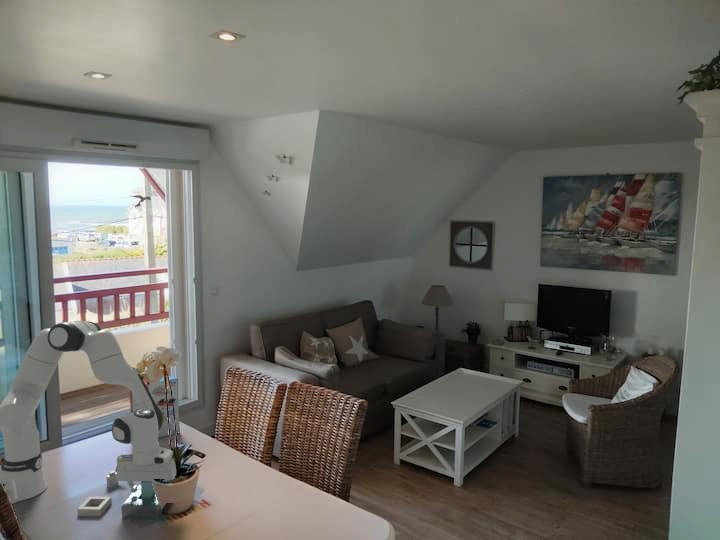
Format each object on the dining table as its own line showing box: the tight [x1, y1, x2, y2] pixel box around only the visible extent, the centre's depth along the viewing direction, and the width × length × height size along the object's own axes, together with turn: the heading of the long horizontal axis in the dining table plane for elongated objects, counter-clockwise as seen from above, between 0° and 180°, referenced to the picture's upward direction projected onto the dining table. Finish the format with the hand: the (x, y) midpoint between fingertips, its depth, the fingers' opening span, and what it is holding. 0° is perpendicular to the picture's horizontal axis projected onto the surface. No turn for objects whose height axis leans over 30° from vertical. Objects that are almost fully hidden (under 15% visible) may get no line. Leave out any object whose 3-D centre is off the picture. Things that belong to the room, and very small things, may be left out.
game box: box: [129, 375, 181, 439], centre depth 245 cm, size 21×6×27 cm, turn 123°
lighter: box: [106, 464, 119, 489], centre depth 204 cm, size 7×2×8 cm, turn 156°
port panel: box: [121, 484, 162, 520], centre depth 188 cm, size 12×14×5 cm
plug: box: [140, 481, 155, 499], centre depth 188 cm, size 4×4×10 cm
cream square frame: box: [76, 495, 112, 517], centre depth 187 cm, size 8×8×2 cm
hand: (147, 491), depth 188 cm, fingers open, 8 cm apart
